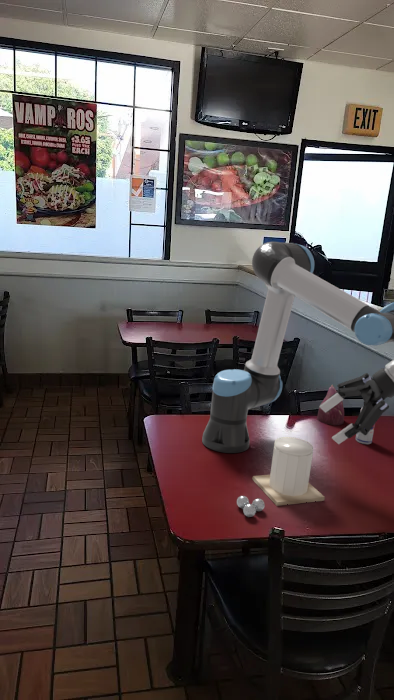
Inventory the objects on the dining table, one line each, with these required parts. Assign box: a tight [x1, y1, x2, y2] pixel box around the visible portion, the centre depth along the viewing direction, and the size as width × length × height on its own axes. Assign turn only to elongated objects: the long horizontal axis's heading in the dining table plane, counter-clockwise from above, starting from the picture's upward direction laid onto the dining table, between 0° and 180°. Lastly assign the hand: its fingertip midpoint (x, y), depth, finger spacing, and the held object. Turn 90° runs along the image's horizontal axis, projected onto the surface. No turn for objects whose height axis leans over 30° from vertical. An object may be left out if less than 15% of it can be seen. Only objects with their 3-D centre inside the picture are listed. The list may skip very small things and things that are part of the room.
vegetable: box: [316, 384, 345, 426], centre depth 191 cm, size 10×10×15 cm
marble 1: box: [236, 495, 250, 510], centre depth 123 cm, size 3×3×3 cm
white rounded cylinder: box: [269, 436, 314, 496], centre depth 133 cm, size 10×10×12 cm
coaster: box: [251, 474, 326, 507], centre depth 134 cm, size 14×14×1 cm
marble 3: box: [251, 497, 265, 512], centre depth 122 cm, size 3×3×3 cm
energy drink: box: [355, 406, 376, 445], centre depth 172 cm, size 5×5×12 cm
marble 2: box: [242, 503, 257, 518], centre depth 119 cm, size 3×3×3 cm
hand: (328, 424), depth 138 cm, fingers open, 13 cm apart
